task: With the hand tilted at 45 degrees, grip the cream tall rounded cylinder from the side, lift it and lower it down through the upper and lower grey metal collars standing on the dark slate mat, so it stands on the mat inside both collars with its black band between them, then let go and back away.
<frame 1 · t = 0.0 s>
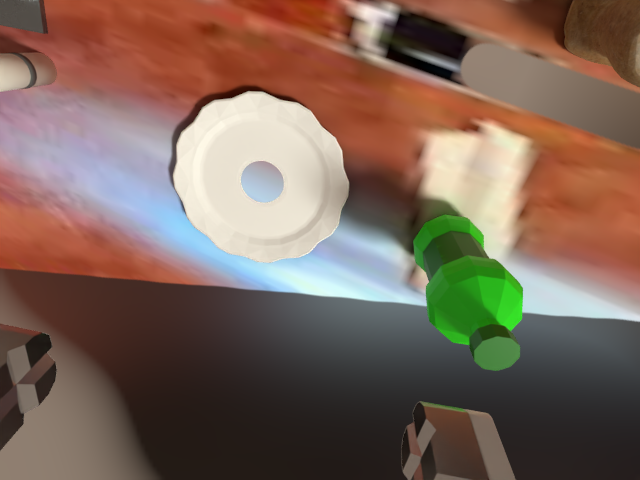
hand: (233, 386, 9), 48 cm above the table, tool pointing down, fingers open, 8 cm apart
stone cup: (623, 28, 46), on the table
plate: (262, 181, 58), on the table
cream tall rounded cylinder: (41, 68, 52), on the table
plastic bottle: (442, 235, 59), on the table
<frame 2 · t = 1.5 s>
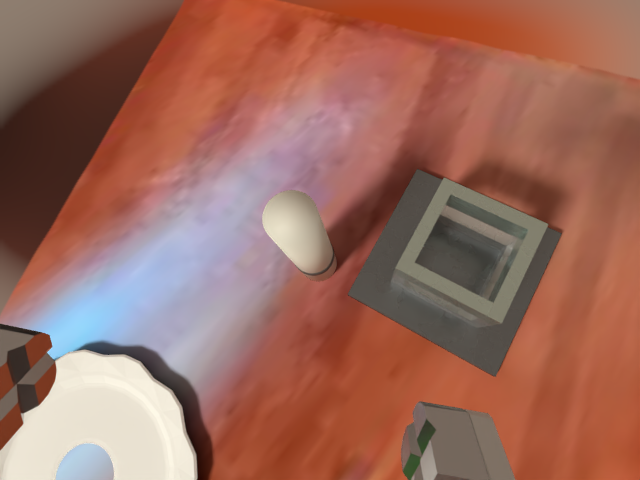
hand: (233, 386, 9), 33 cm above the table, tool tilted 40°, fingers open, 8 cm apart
plate: (87, 476, 40), on the table
collar holder: (451, 265, 41), on the table
cream tall rounded cylinder: (318, 263, 43), on the table
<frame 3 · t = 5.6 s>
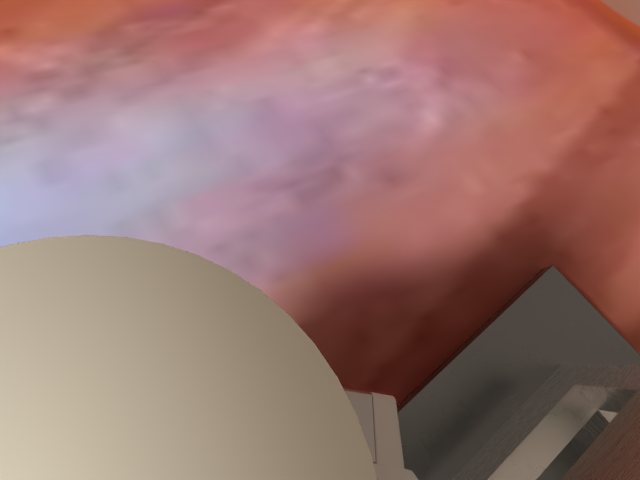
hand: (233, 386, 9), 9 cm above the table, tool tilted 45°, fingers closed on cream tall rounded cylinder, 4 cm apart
cream tall rounded cylinder: (260, 387, 17), on the table, touching gripper
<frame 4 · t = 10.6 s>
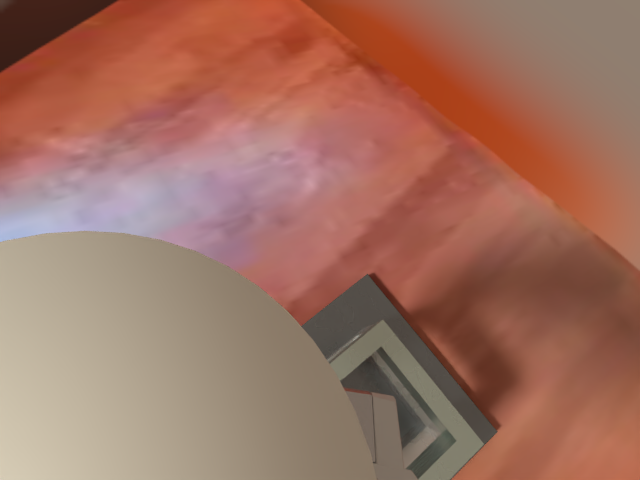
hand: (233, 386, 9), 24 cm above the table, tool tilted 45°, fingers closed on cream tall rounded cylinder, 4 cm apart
collar holder: (354, 413, 31), on the table
cream tall rounded cylinder: (259, 387, 17), point 15 cm above the table, touching gripper
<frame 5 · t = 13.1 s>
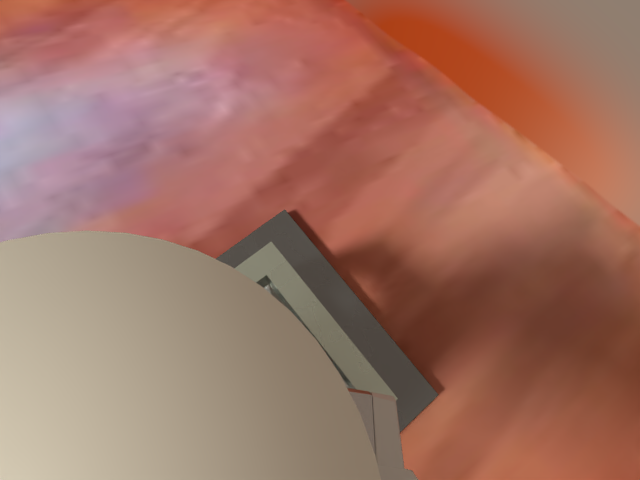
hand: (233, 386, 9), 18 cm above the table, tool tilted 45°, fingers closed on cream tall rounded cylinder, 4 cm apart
collar holder: (262, 376, 25), on the table
cream tall rounded cylinder: (260, 387, 17), point 8 cm above the table, touching gripper
when the fingers open (12 cm above the table, at t = 15.5 s): cream tall rounded cylinder drops 1 cm, resting on collar holder.
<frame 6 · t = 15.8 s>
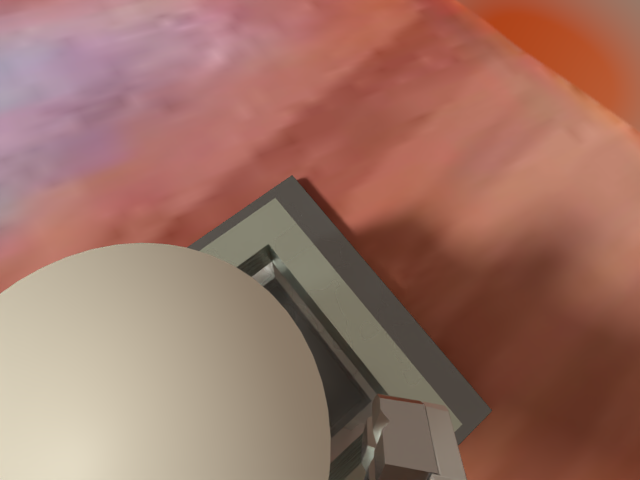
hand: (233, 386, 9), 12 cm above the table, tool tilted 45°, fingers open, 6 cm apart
collar holder: (263, 385, 20), on the table
cream tall rounded cylinder: (262, 385, 19), point 1 cm above the table, touching collar holder
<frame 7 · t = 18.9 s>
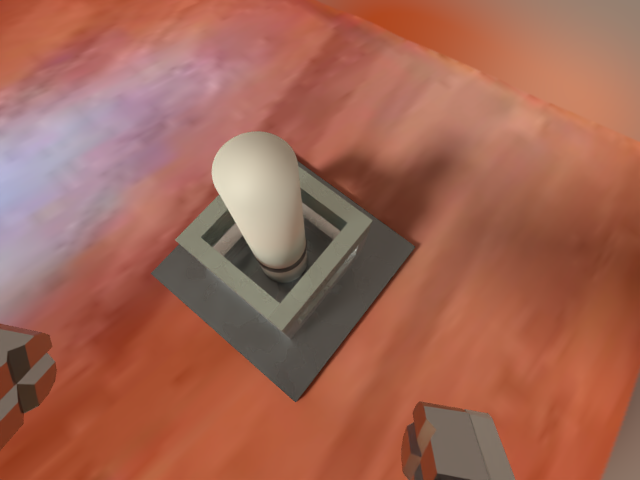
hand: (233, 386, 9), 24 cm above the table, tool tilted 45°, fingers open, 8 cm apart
collar holder: (285, 262, 34), on the table
cream tall rounded cylinder: (284, 259, 33), point 1 cm above the table, touching collar holder
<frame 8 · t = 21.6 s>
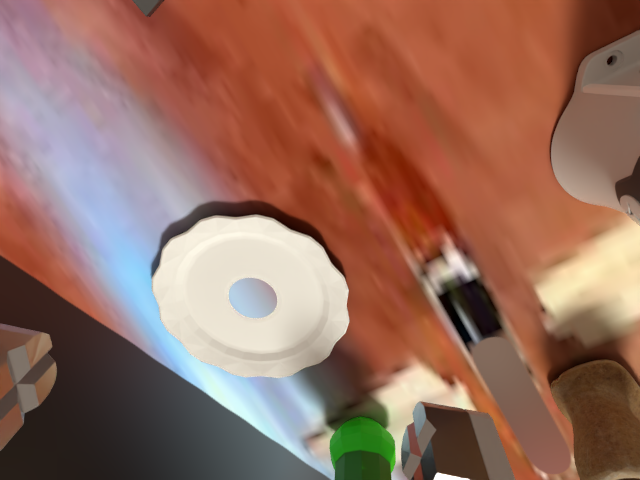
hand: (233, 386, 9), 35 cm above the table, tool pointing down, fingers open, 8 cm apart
stone cup: (587, 395, 55), on the table
plate: (253, 296, 51), on the table
plastic bottle: (362, 427, 61), on the table
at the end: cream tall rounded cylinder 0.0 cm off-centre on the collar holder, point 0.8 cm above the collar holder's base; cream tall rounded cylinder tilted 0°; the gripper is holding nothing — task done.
